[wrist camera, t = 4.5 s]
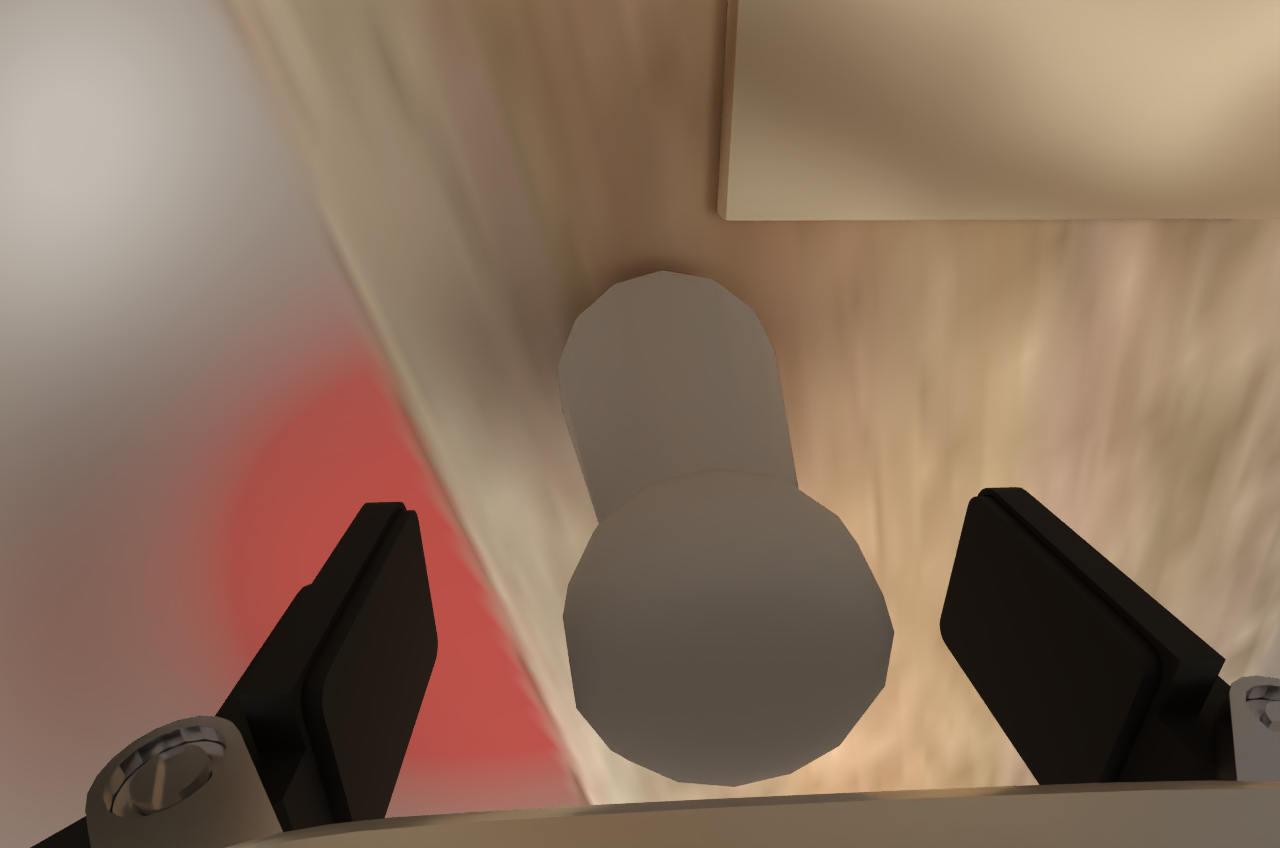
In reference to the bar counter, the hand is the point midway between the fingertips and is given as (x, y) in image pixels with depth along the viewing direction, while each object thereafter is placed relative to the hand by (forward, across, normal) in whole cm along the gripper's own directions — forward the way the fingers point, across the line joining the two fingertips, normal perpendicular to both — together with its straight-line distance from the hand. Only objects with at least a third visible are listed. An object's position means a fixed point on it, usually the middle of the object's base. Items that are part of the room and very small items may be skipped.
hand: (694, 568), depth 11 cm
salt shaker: (+10, 0, -1) cm, 10 cm away
